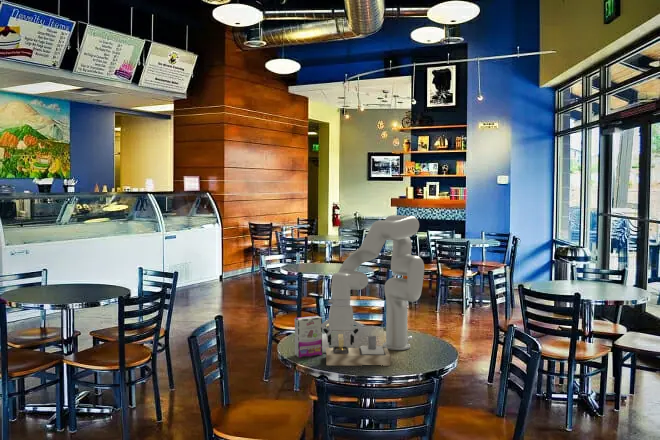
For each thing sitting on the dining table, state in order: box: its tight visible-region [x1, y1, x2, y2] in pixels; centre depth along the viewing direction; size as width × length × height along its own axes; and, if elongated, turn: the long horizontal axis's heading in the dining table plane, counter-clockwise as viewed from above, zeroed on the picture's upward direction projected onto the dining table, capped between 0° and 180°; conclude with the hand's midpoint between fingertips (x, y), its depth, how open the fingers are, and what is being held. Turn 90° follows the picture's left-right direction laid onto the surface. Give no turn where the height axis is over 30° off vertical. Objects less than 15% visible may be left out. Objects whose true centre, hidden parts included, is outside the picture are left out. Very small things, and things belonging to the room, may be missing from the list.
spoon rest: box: [322, 332, 332, 354], centre depth 271 cm, size 24×12×7 cm, turn 10°
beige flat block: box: [325, 345, 391, 367], centre depth 246 cm, size 26×12×6 cm, turn 91°
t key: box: [336, 333, 346, 350], centre depth 246 cm, size 10×4×6 cm, turn 1°
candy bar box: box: [294, 315, 323, 358], centre depth 255 cm, size 11×5×16 cm, turn 114°
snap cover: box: [360, 335, 384, 354], centre depth 246 cm, size 9×9×6 cm
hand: (340, 344), depth 246 cm, fingers open, 8 cm apart
